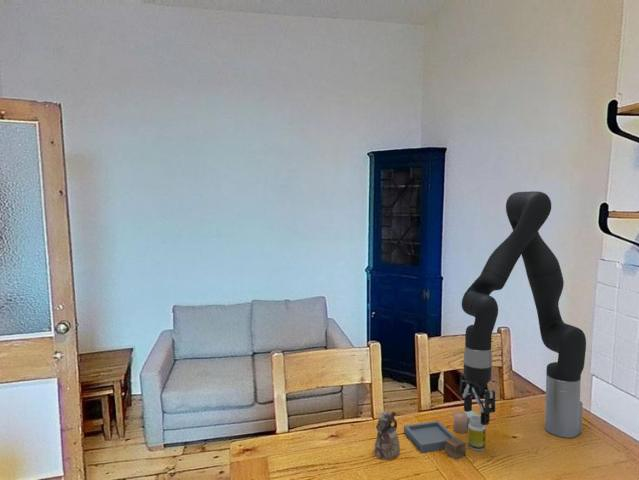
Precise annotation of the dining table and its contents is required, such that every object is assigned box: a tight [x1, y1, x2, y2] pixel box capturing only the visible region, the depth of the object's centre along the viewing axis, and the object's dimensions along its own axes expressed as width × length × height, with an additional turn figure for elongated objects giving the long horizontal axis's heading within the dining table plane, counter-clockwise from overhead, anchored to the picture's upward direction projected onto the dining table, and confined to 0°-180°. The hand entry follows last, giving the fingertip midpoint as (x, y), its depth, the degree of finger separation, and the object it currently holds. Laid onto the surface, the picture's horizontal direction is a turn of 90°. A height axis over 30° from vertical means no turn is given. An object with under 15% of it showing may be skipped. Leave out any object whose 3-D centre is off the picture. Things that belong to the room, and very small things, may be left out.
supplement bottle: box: [467, 415, 486, 452], centre depth 134 cm, size 5×5×8 cm
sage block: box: [463, 410, 481, 430], centre depth 146 cm, size 4×5×4 cm
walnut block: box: [444, 435, 467, 461], centre depth 131 cm, size 4×4×4 cm
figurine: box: [373, 410, 401, 461], centre depth 132 cm, size 7×7×12 cm
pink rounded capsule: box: [453, 411, 468, 434], centre depth 144 cm, size 4×4×5 cm
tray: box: [403, 420, 455, 454], centre depth 139 cm, size 12×12×2 cm
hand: (475, 417), depth 134 cm, fingers open, 8 cm apart
